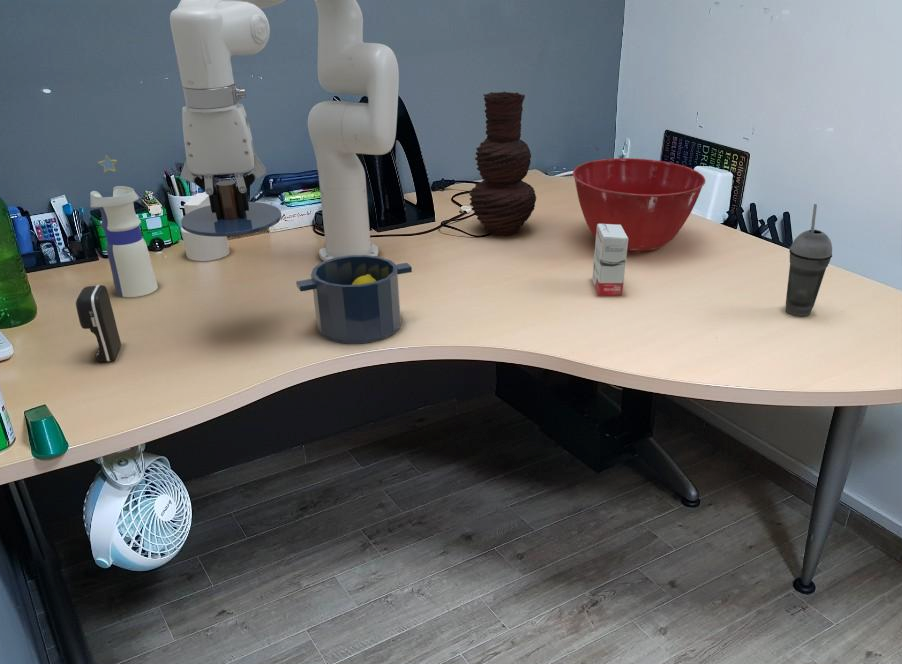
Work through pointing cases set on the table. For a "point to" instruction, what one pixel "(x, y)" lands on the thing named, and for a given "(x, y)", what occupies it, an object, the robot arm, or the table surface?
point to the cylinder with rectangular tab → (203, 245)
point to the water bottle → (124, 240)
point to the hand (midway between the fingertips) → (231, 214)
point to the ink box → (609, 259)
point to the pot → (356, 298)
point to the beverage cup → (807, 269)
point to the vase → (503, 168)
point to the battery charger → (99, 320)
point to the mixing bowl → (638, 198)
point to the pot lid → (230, 216)
